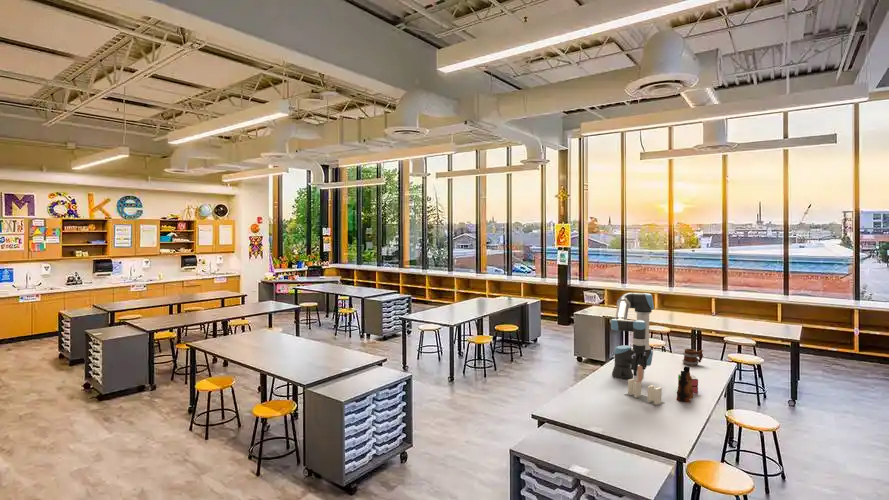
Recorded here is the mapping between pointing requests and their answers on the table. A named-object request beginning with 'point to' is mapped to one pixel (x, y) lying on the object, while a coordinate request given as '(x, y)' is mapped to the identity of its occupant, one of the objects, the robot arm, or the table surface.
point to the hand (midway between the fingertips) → (638, 379)
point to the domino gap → (639, 374)
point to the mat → (643, 399)
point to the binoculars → (685, 386)
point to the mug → (692, 357)
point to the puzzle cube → (693, 383)
